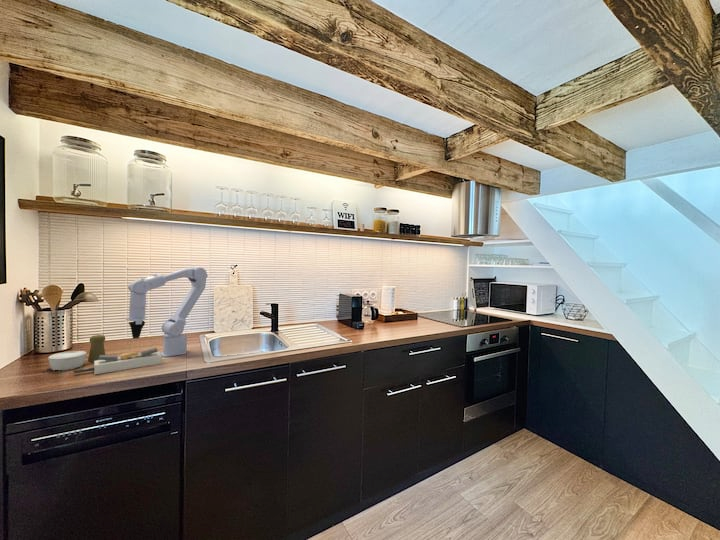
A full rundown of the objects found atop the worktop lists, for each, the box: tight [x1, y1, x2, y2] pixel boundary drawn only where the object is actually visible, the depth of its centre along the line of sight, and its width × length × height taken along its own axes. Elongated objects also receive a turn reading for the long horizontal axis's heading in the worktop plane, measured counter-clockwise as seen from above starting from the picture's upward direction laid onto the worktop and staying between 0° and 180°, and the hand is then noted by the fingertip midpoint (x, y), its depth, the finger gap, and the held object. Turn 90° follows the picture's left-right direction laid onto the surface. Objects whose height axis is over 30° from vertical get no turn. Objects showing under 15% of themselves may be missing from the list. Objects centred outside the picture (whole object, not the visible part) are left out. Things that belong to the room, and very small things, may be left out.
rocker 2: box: [140, 347, 159, 357], centre depth 129 cm, size 6×3×1 cm, turn 132°
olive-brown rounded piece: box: [87, 334, 106, 363], centre depth 130 cm, size 6×6×11 cm
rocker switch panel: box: [73, 351, 163, 375], centre depth 122 cm, size 28×7×4 cm, turn 133°
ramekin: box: [47, 350, 87, 372], centre depth 121 cm, size 11×11×5 cm
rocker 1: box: [99, 354, 118, 360], centre depth 119 cm, size 6×3×1 cm, turn 133°
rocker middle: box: [120, 350, 139, 359], centre depth 124 cm, size 6×3×1 cm, turn 133°
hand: (135, 338), depth 130 cm, fingers closed
